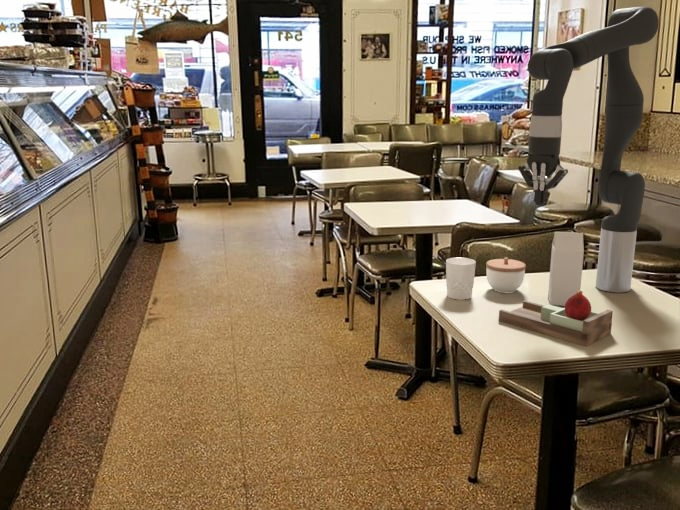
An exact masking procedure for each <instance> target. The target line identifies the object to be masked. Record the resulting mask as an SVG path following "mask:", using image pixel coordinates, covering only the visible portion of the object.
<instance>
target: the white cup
mask: <svg viewBox="0 0 680 510" xmlns="http://www.w3.org/2000/svg"><path fill="white" fill-rule="evenodd" d="M475 271H476V260H474V259H472V258H469V257H458V256H457V257H450V258H449V257H448V258H447V259H445V272H446V273H445V275H446V276H445V277H446V278H445V282H446V284H445V285H446V297H448V298H450V299H452V300H457V301H465V299H466V300H470V299H472V296H473V289H474V285H475V284H474V283H475V282H474V281H475V275H476V274H475V273H476V272H475Z"/></svg>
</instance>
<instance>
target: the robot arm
mask: <svg viewBox="0 0 680 510" xmlns="http://www.w3.org/2000/svg"><path fill="white" fill-rule="evenodd" d="M659 23H660V21H659V15H658V14H657V11H656V10H654V9H653V8H652V7H649V6H633V7H632V6H631V7H623V8H619V9H615V10H614V11H613V12H612V13H611V14H610V16H609V18H608V21H607V26H606V27H603V28H598V29H595V30H590V31H588V32H584V33H582V34H579V35H578V36H575V37H573V38H570V39H569V40H567V41H564V42H561V43H557V44H552V45H549V46H545V47H543V48H540V49H538V50H536V51H534V53H532V55H530V57H529V59H528V61H527V70H528V73H529V75H530V76H531V77H533V79H535V80H540V81H545V80H546V81H547V83H546V85H545V88H543V89H541V90H538V91H536V92H535V93H534V94H533V96H532V103H531V105H532V107H531V117H530V118H531V119H530V124H529V131H528V133H529V134H528V145H527V148H528V150H527V152H528V157H527V158H526V162H525V163H524V164H523V165H519V166H518V167H517V168H518V171H519V173H520V174H521V176H522V178H523V180H524V181H525V183H526V185H527V187H530V188H533V190H534V193H533V202H534V203H535V206H541V207H542V206H545V205H546V204H547V202H548V192H549V190H551V189H556V187H557V186H558V185H559V183H561V181H563V179H564V178H565V177H566V176H567V174H568V173H569V170H568V169H567V168H564V167H563V166H562V165H561V160H560V154H561V145H562V144H561V143H562V130H563V129H562V128H563V120H562V119H563V117H562V116H563V106H564V105H563V102H564V97H565V94H566V92H567V90H568V89H567V88H568V86H569V83H570V80H571V77H572V75H573V70H574V69H578V68H580V67H583V66H585V65H587V64H589V63H591V62H593V61H595V60H597V59H600V58H601V57H604V56H607V89H606V101H605V115H604V116H605V120H604V121H605V122H604V124H605V125H604V141H603V150H602V157H601V164H600V165H601V166H600V171H599V178H598V195H599V198H600V200H601V201H602V202H604V203H608V204H612V205H613V204H614V205H619V211H618V212H617V213H615V214H613V215H608V216H604V217H603V218H602V219H601V225H600V227H601V228H600V237H599V238H600V239H599V247H598V255H597V256H598V257H597V259H598V260H597V268H596V276H595V277H596V279H595V288H596V289H598V290H601V291H604V292H608V293H619V294H621V293H627V292H630V291H631V285H632V277H633V269H634V261H635V249H636V241H637V231H638V225H639V222H640V219H641V215H642V209H643V202H644V197H645V191H646V183H645V179H644V176H643V174H641V173H639V172H635V171H627V170H622V169H621V167H622V166H621V165H622V160H623V159H622V158H623V155H624V151H625V150H626V147H628V145H629V143H630V142H631V140H633V138H634V136H635V135H636V133H637V132H638V131H639V129H640V127H641V125H642V122H643V114H644V102H645V101H644V100H645V99H644V93H643V90H642V88H641V86H640V84H639V81H638V80H637V78H636V76H635V73H634V72H633V70H632V67H631V63H630V47H631V46H637V45H643V44H646V43H649V42H650V41H652V40H653V39H654V37H655V36H656V34H657V32H658V29H659V25H660V24H659ZM553 174H555V175H554V176H553Z"/></svg>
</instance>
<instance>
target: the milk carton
mask: <svg viewBox="0 0 680 510" xmlns="http://www.w3.org/2000/svg"><path fill="white" fill-rule="evenodd" d="M553 234H554V236H553V239H552V243H551V253H550V266H549V267H550V268H549V280H548V294H547V296H548V297H547V298H548V301H549V305H553V306H557V307H560V306H562V307H565V304H566V301H567V300H568V299H569V298H570V297H571V296H573V295H575V294H576V293H577V292H578V291H579V290H581V289H582V288H581V287H582V276H583V275H582V273H583V265H584V263H583V262H584V255H585V253H584V252H585V249H584V248H585V246H584V232H571V231H570V232H566V231H562V232H561V231H554V233H553Z"/></svg>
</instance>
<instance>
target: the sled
mask: <svg viewBox="0 0 680 510" xmlns="http://www.w3.org/2000/svg"><path fill="white" fill-rule="evenodd" d="M599 313H600V312H596V311H592V310H591V313H590V315H589V316H588V318H591V317H593V316H595V315H597V314H599ZM588 318H587V319H588ZM541 320H543V321H547V322H550V323H552V324H556V325H559V326H563V327H566V328H570V329H573V330H577V331H581V332H582V329H583V321H579V320H575V319H572V318H568V317H567V315H566V313H565V307H560V306H558V305H551V304H550V303H548V304H546V305H544V306H543V307H542V308H541ZM585 320H586V319H585Z"/></svg>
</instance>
